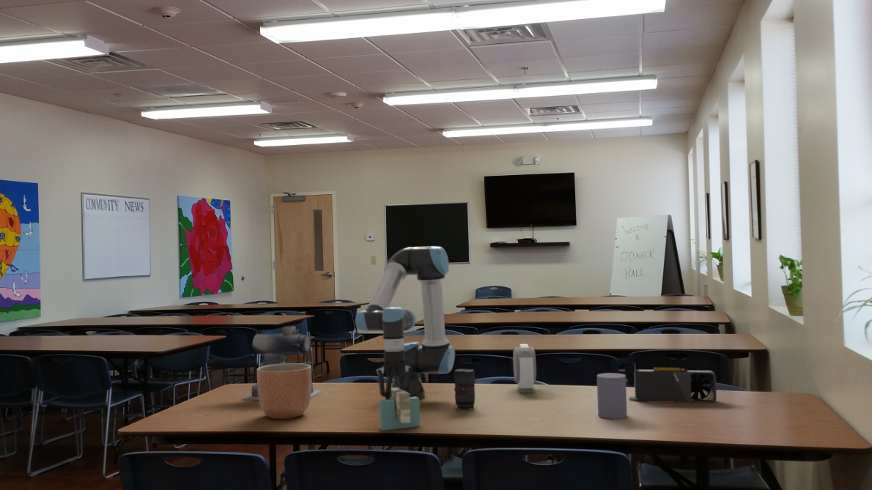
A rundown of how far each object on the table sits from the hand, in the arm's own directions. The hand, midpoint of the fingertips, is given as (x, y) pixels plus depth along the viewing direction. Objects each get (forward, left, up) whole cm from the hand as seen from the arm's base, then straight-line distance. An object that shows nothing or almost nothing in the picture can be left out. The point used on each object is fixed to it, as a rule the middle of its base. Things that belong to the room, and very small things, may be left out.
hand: (395, 414), depth 271 cm
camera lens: (-14, +34, -4) cm, 37 cm away
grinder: (-77, -28, -4) cm, 82 cm away
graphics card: (+14, +111, -4) cm, 112 cm away
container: (+25, +75, -4) cm, 80 cm away
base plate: (+4, 0, -4) cm, 6 cm away
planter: (-35, -34, -4) cm, 49 cm away
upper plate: (+5, 0, -1) cm, 5 cm away
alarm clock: (-35, +71, -4) cm, 79 cm away
